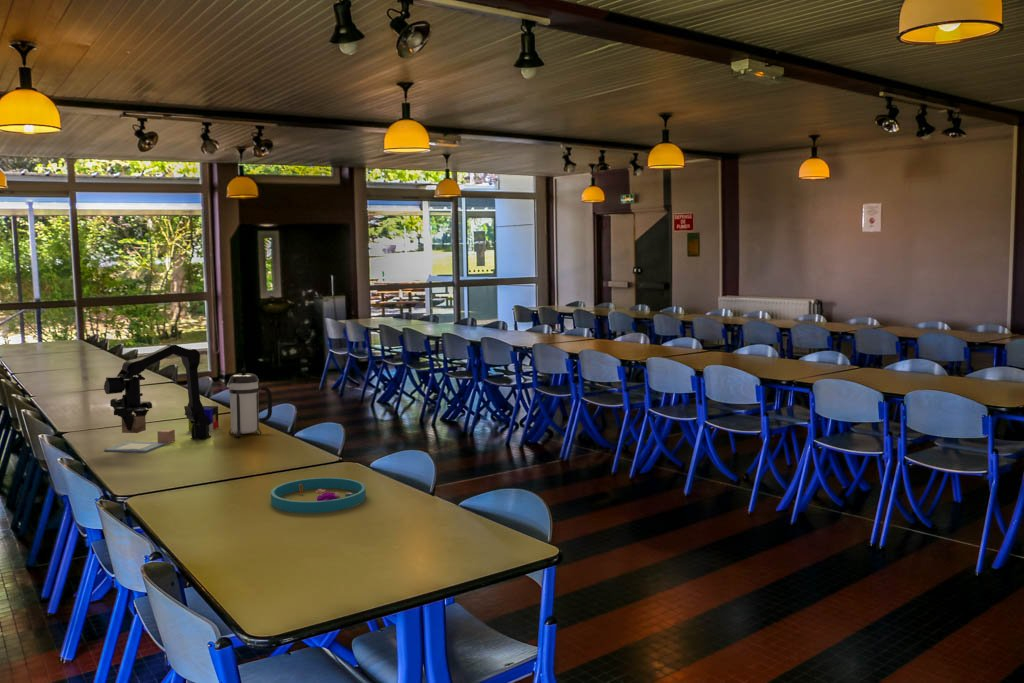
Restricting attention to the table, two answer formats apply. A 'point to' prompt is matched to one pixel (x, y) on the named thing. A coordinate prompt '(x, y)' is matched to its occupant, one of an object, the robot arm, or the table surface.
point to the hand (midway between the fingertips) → (134, 428)
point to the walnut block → (135, 425)
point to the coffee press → (246, 403)
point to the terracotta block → (166, 435)
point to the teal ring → (323, 502)
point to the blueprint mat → (135, 447)
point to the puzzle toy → (210, 417)
